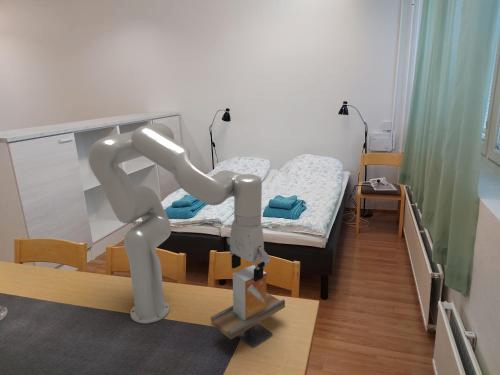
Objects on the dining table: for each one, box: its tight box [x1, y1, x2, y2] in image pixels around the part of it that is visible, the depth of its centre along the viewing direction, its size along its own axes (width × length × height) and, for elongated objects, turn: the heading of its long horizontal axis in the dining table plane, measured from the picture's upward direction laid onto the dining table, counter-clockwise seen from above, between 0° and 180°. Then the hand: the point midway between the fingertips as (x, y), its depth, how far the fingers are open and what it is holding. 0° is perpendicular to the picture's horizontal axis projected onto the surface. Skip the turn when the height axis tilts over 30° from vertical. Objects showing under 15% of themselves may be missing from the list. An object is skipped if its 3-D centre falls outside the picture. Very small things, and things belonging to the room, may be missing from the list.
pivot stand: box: [236, 322, 274, 349], centre depth 111 cm, size 12×8×6 cm, turn 42°
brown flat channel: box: [210, 292, 286, 340], centre depth 110 cm, size 9×22×2 cm, turn 132°
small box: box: [232, 264, 267, 321], centre depth 108 cm, size 8×6×13 cm
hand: (246, 273), depth 107 cm, fingers open, 9 cm apart
